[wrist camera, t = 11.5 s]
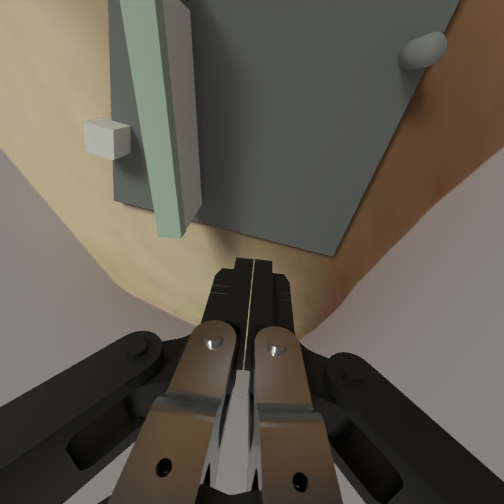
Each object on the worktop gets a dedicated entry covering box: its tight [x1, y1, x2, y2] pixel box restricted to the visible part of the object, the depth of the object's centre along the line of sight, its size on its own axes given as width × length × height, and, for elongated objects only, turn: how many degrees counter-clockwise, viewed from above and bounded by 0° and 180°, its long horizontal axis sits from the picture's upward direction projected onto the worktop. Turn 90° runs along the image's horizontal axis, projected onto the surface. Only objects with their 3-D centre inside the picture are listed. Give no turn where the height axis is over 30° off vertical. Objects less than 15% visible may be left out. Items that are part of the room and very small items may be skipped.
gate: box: [120, 0, 202, 238], centre depth 20 cm, size 15×2×7 cm, turn 178°
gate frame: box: [83, 0, 460, 257], centre depth 19 cm, size 25×23×10 cm
